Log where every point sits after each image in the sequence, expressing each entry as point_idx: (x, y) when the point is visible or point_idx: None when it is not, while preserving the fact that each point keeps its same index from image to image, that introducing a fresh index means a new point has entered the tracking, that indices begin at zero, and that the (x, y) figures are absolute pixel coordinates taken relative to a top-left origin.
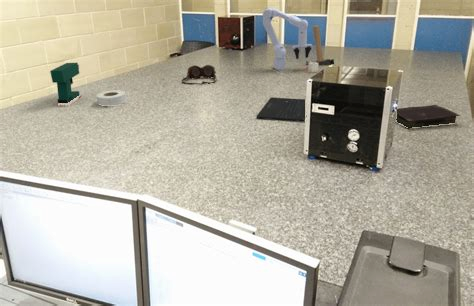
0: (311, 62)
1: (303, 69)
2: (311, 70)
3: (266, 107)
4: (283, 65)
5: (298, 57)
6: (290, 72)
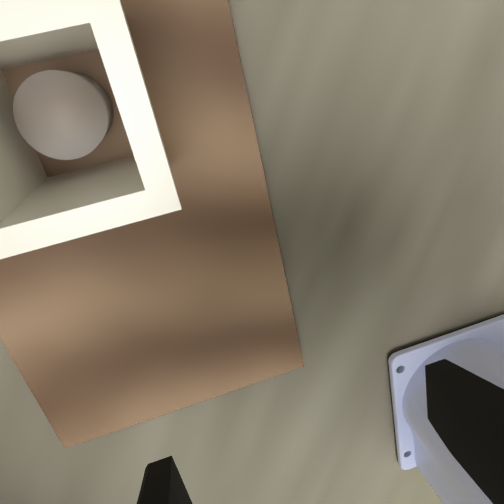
0: (88, 218)
1: (207, 309)
2: (132, 40)
3: None
4: (496, 384)
5: (456, 383)
6: (397, 259)
